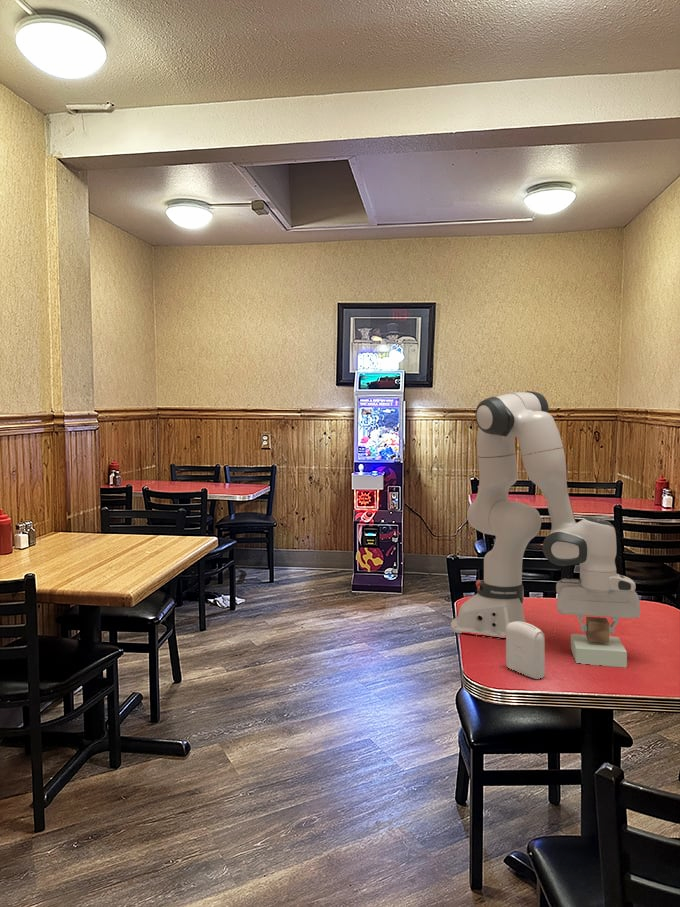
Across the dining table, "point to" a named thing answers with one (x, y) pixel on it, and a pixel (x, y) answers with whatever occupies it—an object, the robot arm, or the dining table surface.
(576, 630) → the dining table surface
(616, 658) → the mint base block
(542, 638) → the white slotted box
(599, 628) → the walnut cube
